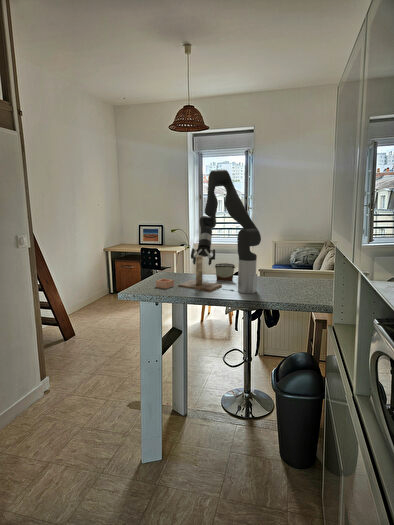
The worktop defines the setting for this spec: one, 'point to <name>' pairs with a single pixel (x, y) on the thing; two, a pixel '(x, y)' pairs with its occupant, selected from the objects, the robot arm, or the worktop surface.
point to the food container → (224, 271)
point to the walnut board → (201, 286)
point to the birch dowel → (199, 269)
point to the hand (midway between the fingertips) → (201, 264)
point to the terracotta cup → (164, 283)
